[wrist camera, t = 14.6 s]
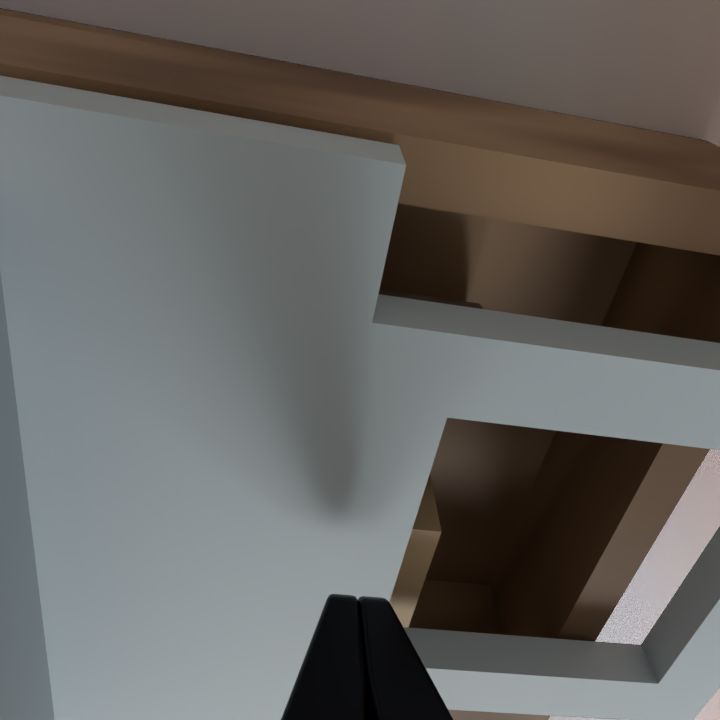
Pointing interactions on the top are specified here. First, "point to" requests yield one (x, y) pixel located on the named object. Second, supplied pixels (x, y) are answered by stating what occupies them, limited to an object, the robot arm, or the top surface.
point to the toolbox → (483, 302)
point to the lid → (270, 423)
